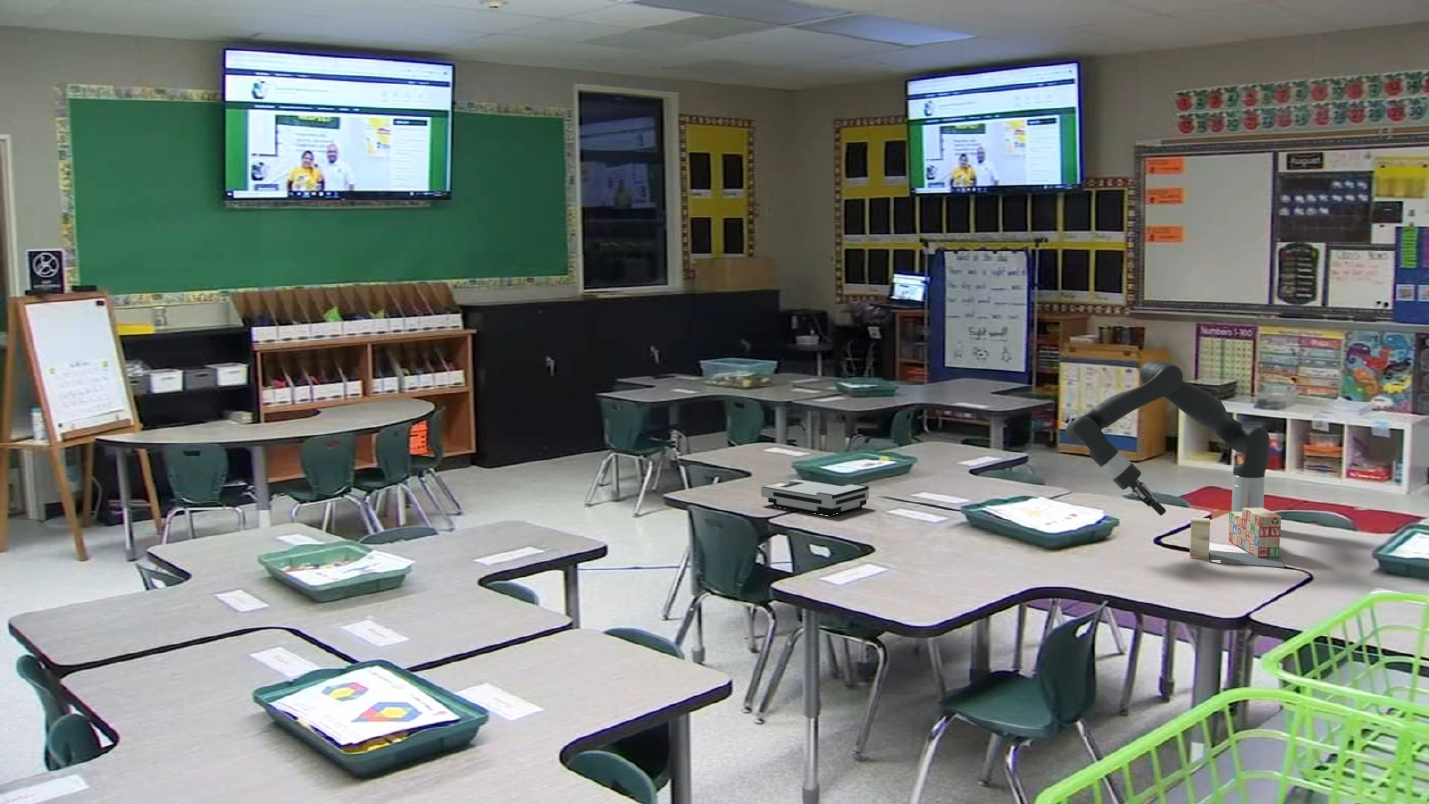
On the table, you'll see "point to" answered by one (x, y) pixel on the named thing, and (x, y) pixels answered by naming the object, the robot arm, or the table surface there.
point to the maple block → (1200, 538)
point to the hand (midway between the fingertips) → (1163, 513)
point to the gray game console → (816, 496)
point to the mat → (1246, 559)
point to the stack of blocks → (1256, 531)
